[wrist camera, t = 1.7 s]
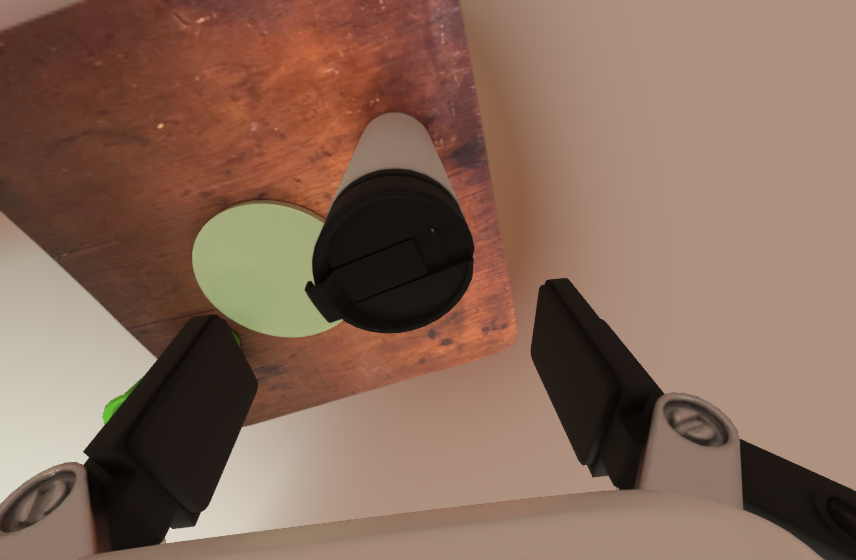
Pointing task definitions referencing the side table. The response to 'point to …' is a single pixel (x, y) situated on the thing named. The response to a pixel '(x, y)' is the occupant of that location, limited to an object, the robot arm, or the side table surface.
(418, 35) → the side table surface
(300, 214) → the trivet
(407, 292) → the travel mug
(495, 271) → the side table surface
